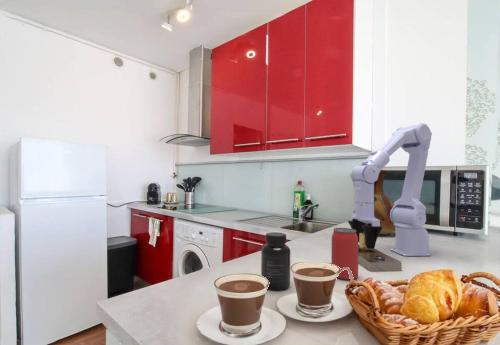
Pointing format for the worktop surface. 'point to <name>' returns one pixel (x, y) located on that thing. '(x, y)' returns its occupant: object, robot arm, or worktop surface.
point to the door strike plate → (378, 261)
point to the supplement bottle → (276, 261)
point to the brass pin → (362, 243)
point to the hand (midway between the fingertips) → (364, 245)
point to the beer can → (345, 251)
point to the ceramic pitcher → (382, 205)
